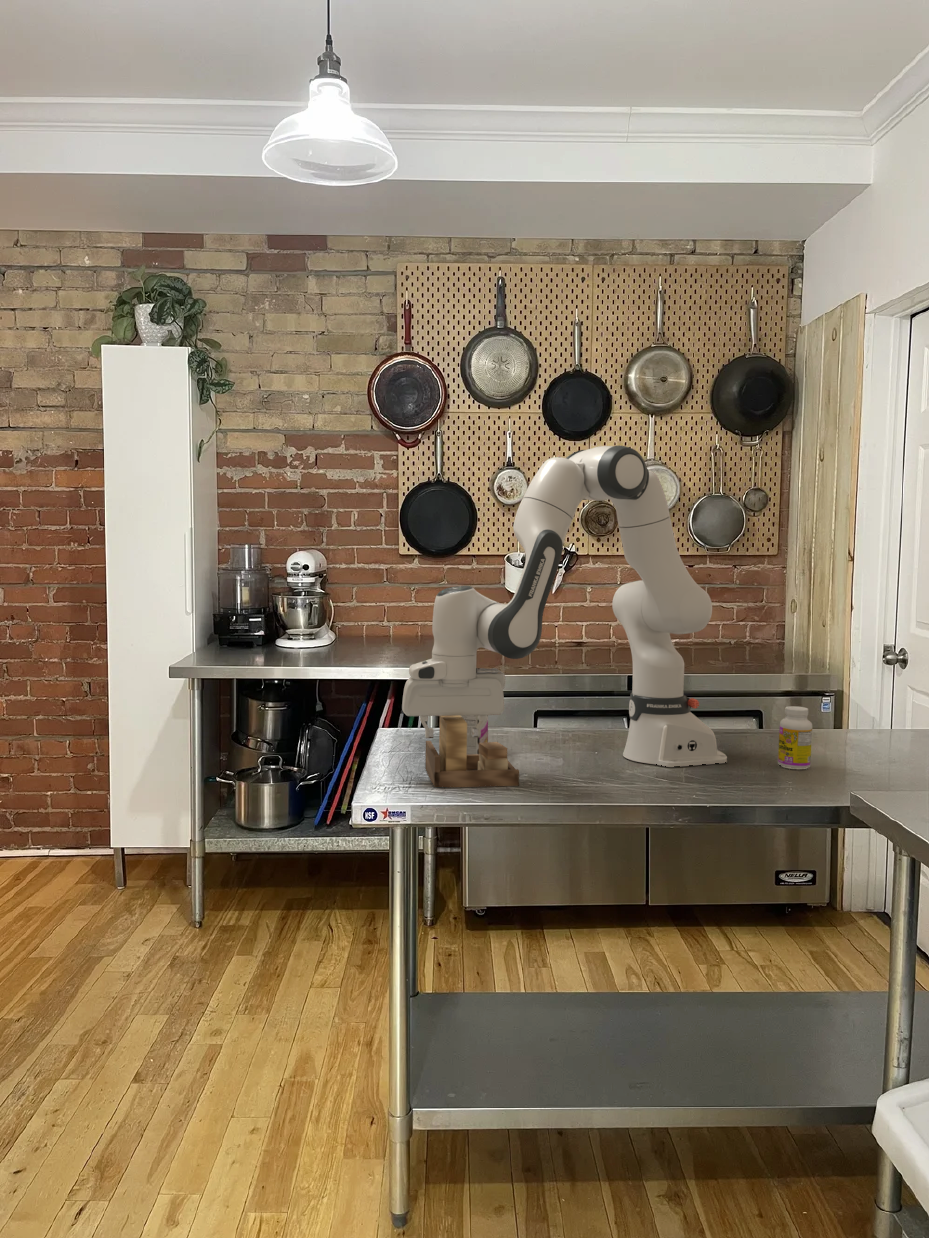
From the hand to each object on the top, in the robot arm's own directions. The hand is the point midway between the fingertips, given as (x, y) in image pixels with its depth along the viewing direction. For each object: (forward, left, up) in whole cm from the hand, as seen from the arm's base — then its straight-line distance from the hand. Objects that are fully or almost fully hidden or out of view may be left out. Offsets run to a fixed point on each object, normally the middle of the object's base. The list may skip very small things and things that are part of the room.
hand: (452, 737), depth 189 cm
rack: (-3, 0, -8) cm, 9 cm away
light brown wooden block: (0, 0, -8) cm, 8 cm away
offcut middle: (-8, 0, -6) cm, 10 cm away
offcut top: (-8, 0, -4) cm, 9 cm away
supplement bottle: (-74, -2, -8) cm, 75 cm away
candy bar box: (-7, -19, -8) cm, 23 cm away
